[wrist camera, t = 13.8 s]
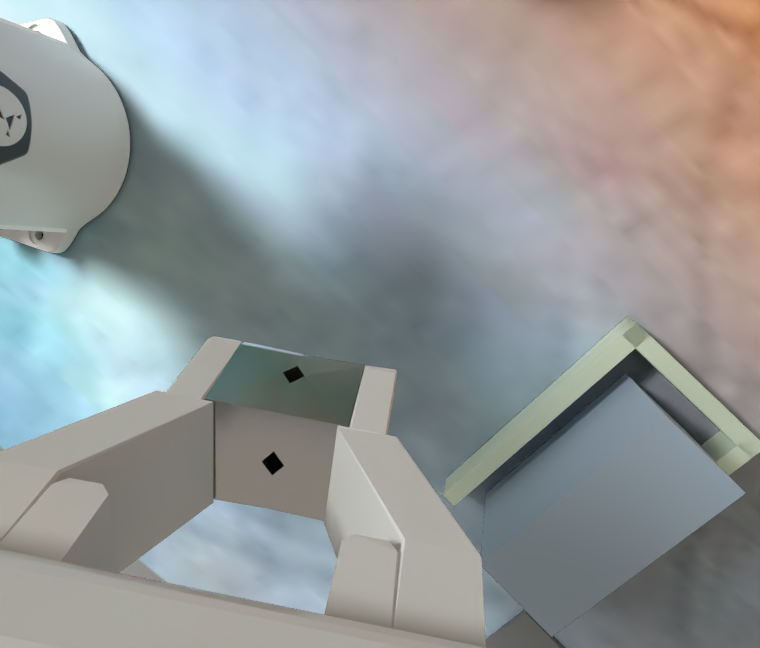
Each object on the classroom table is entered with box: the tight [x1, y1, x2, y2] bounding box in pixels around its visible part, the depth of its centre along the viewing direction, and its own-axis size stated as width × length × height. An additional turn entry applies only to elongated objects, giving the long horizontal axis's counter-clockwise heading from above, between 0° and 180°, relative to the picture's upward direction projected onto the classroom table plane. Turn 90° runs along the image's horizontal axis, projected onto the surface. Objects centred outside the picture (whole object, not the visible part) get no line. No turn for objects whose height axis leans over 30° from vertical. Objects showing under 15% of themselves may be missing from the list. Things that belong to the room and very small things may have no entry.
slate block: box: [481, 373, 745, 637], centre depth 37 cm, size 14×6×10 cm, turn 137°
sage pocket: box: [442, 317, 760, 506], centre depth 40 cm, size 18×11×3 cm, turn 137°
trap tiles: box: [486, 610, 564, 648], centre depth 45 cm, size 5×22×1 cm, turn 47°
